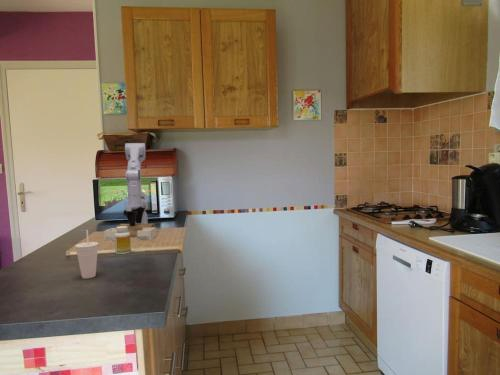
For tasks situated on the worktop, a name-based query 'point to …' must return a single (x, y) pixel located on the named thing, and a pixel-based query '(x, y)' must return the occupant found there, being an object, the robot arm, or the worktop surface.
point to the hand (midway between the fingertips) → (135, 224)
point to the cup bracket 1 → (110, 234)
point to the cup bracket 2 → (146, 233)
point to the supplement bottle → (122, 240)
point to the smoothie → (87, 257)
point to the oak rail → (136, 228)
